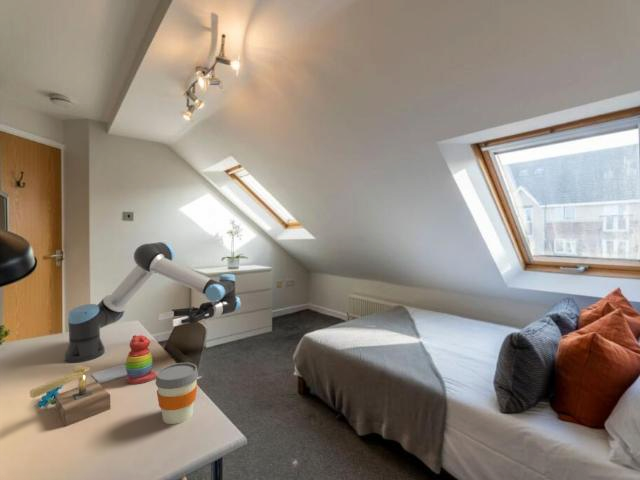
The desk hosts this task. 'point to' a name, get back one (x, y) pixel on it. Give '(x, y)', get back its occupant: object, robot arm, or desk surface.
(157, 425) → the desk surface
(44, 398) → the gear
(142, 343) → the stacking bear
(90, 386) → the lock block
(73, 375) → the gold piece
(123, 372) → the mat
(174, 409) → the reusable coffee cup
